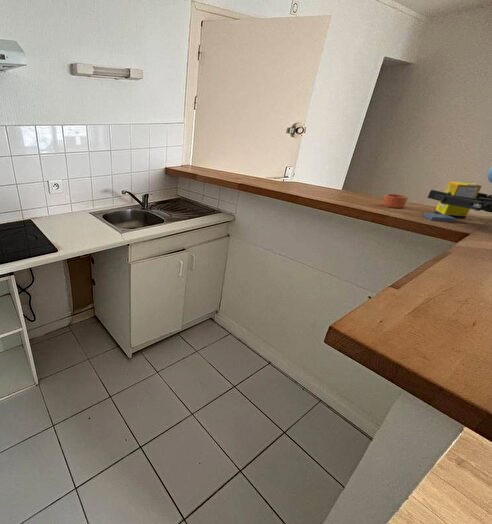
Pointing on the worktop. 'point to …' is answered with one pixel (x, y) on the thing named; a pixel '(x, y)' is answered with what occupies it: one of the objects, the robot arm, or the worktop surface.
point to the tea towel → (439, 217)
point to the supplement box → (458, 190)
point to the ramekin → (394, 200)
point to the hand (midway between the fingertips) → (446, 193)
